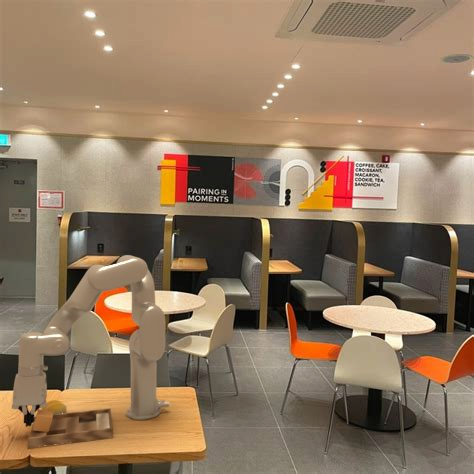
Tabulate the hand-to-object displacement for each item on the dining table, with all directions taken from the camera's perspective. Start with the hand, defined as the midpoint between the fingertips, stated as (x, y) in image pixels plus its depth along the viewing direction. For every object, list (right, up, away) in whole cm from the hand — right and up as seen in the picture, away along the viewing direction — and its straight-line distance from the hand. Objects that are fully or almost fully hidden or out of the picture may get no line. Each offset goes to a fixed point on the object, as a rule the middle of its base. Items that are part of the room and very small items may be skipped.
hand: (28, 424), depth 156 cm
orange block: (+4, -2, +1) cm, 4 cm away
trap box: (+13, -4, +5) cm, 14 cm away
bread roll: (+1, -4, +20) cm, 20 cm away
